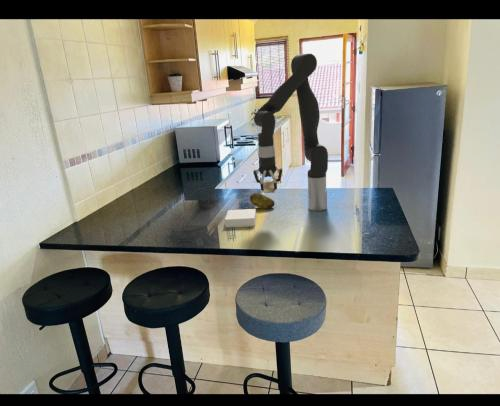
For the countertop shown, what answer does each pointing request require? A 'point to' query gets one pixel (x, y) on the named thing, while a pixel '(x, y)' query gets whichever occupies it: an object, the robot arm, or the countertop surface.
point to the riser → (240, 218)
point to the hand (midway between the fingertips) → (269, 190)
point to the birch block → (268, 186)
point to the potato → (261, 201)
